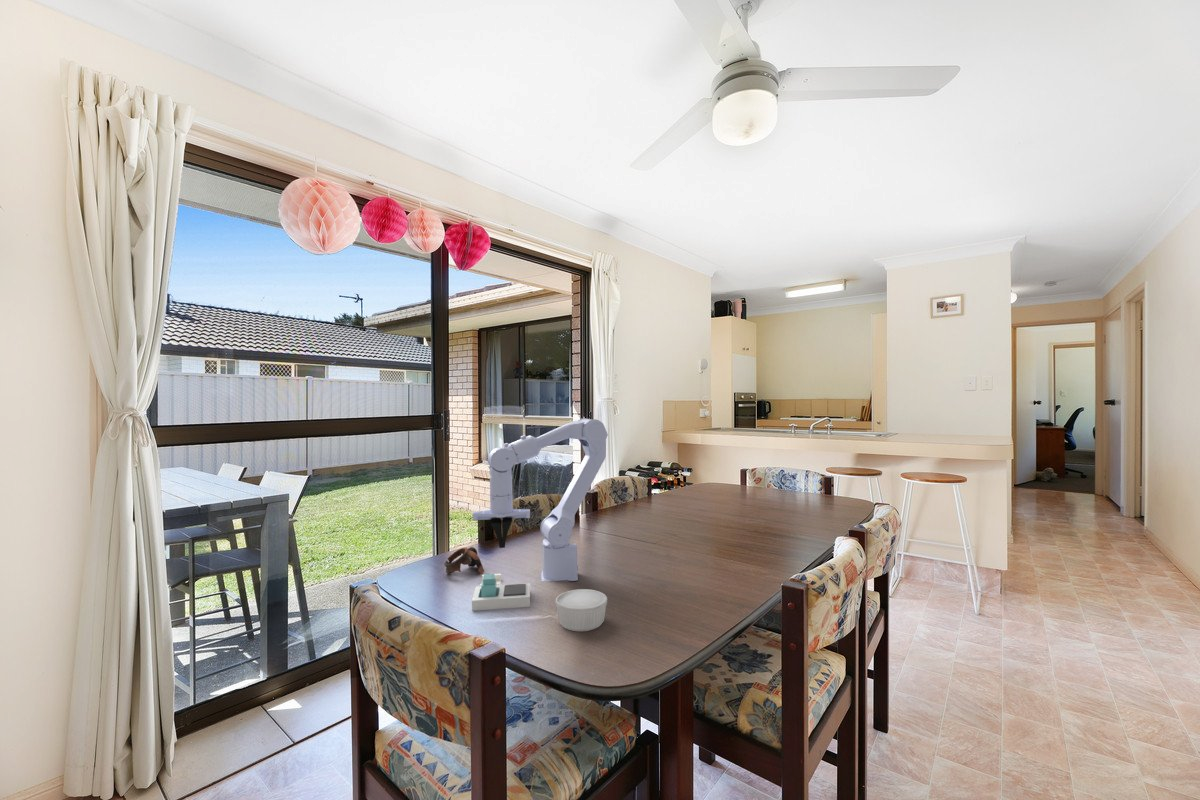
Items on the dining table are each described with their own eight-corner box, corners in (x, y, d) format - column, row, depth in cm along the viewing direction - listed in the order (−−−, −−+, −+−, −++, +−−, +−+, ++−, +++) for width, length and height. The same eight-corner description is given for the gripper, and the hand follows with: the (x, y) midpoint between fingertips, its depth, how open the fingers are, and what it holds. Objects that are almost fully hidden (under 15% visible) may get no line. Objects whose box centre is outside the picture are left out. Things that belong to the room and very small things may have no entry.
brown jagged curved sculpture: (482, 582, 136) (465, 558, 134) (452, 596, 137) (435, 572, 135) (492, 556, 147) (477, 534, 145) (464, 569, 148) (449, 547, 147)
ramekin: (558, 611, 115) (558, 588, 115) (607, 611, 115) (607, 588, 115) (552, 634, 104) (552, 609, 104) (607, 634, 104) (606, 608, 104)
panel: (530, 594, 125) (529, 581, 125) (530, 608, 117) (529, 595, 117) (476, 598, 123) (475, 584, 123) (472, 613, 115) (471, 599, 115)
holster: (501, 580, 135) (501, 573, 135) (499, 592, 127) (499, 584, 127) (482, 581, 134) (482, 574, 134) (479, 593, 126) (479, 585, 126)
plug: (496, 599, 122) (496, 572, 122) (495, 607, 118) (495, 579, 118) (483, 600, 122) (482, 573, 122) (481, 608, 117) (481, 580, 117)
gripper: (470, 498, 127) (471, 552, 127) (529, 496, 129) (530, 549, 129) (473, 493, 134) (474, 544, 134) (529, 491, 136) (530, 541, 136)
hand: (502, 546), depth 132 cm, fingers closed
